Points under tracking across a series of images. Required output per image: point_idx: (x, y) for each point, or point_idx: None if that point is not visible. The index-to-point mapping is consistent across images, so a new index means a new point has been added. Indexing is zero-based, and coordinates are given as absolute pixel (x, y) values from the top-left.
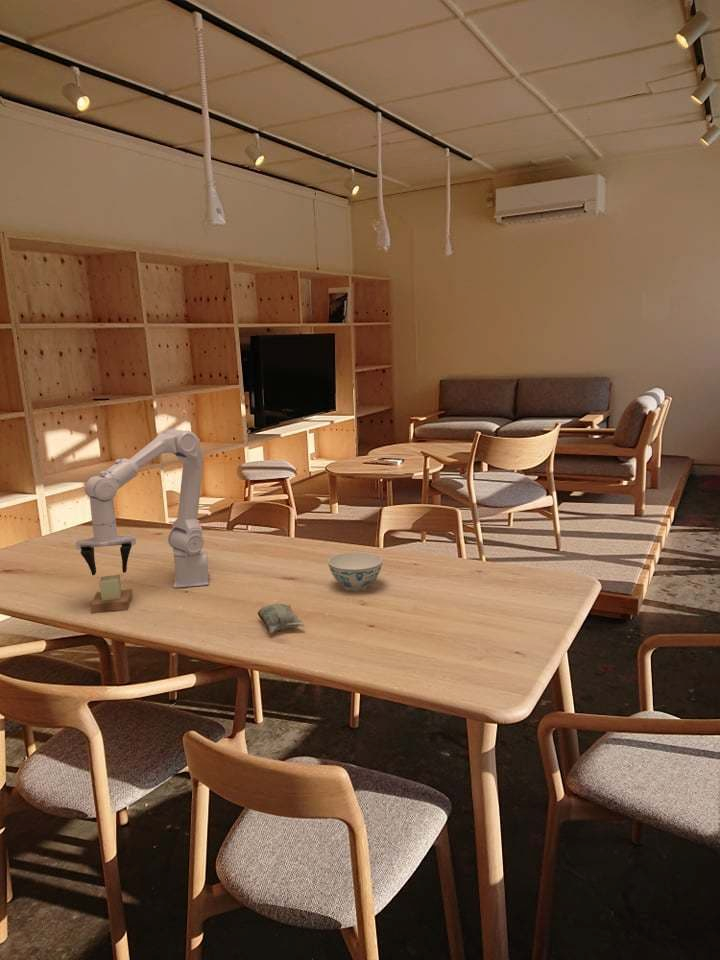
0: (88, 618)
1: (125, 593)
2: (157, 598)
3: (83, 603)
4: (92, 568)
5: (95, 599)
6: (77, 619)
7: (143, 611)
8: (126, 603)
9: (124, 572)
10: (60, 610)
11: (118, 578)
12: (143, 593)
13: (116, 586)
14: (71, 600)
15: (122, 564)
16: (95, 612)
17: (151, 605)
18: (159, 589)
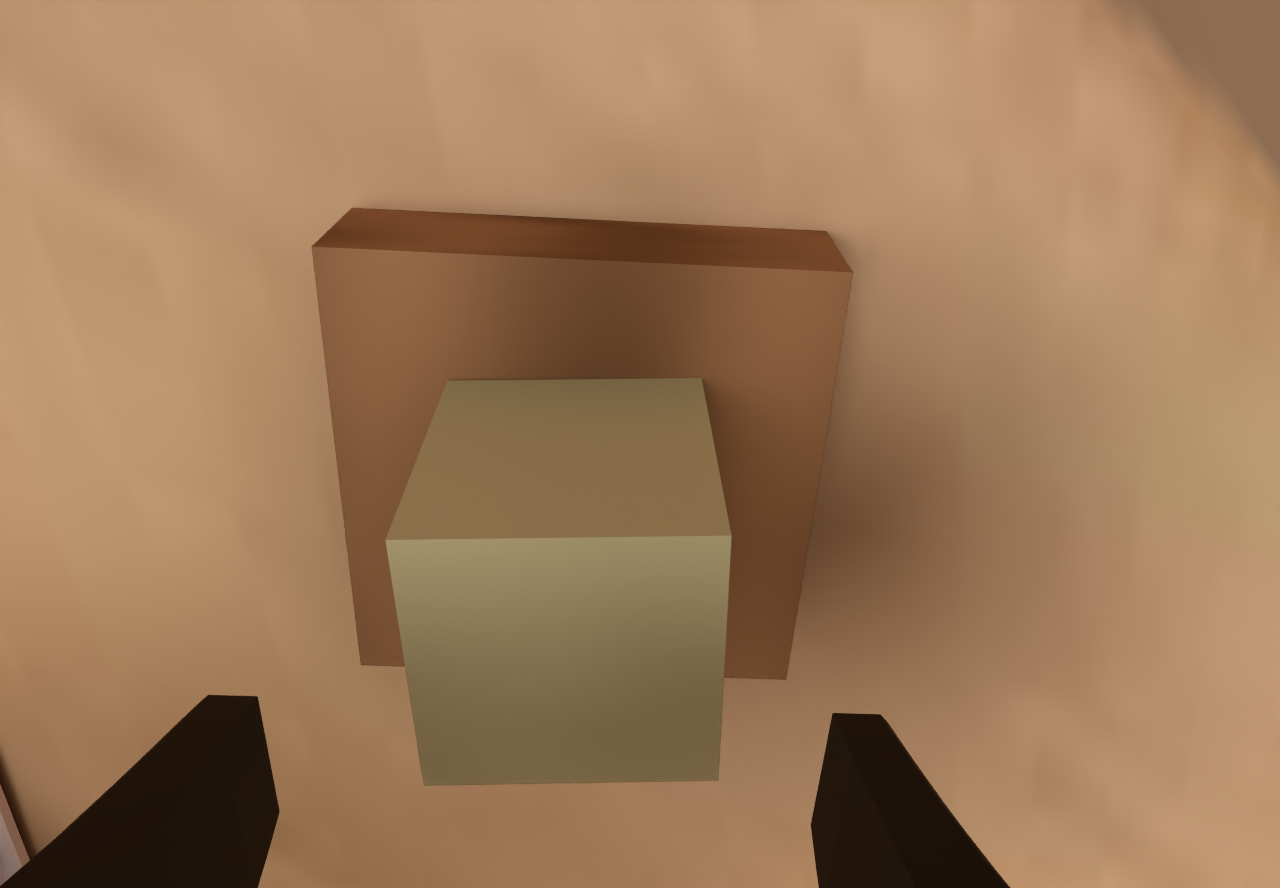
0: (861, 55)
1: None
2: (75, 505)
3: (926, 577)
4: (904, 821)
5: (791, 446)
6: (1009, 62)
7: (113, 102)
8: (334, 238)
9: (225, 698)
10: (1189, 444)
11: (404, 647)
12: (295, 679)
13: (442, 476)
14: (1048, 684)
15: (145, 837)
16: (776, 232)
17: (72, 299)
18: (145, 737)
